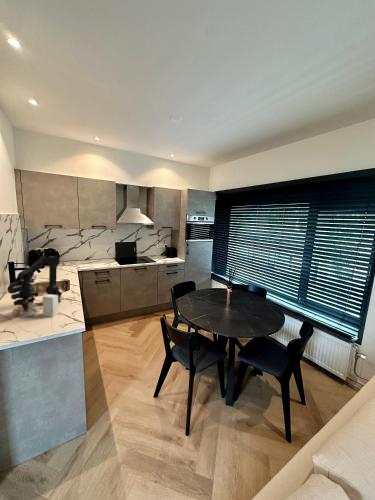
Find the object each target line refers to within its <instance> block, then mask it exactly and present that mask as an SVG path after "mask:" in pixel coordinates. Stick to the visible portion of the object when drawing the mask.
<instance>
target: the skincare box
mask: <svg viewBox="0 0 375 500" xmlns="http://www.w3.org/2000/svg"><path fill="white" fill-rule="evenodd" d="M58 314H59V303H58V295H50V294H45V295H43V296H42V316H43V317H50V318H51V317H52V318H53V317H55V316H58Z"/></svg>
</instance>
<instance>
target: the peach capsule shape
mask: <svg viewBox="0 0 375 500" xmlns="http://www.w3.org/2000/svg"><path fill="white" fill-rule="evenodd" d="M20 314H21V313H20V309H19V308H18V307H17V308H14V309H12V315H13V316H14V317H17V316H19V315H20Z"/></svg>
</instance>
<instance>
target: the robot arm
mask: <svg viewBox="0 0 375 500" xmlns="http://www.w3.org/2000/svg"><path fill="white" fill-rule="evenodd" d="M45 263H46V264H47V265H48V267H49V274H48V275H49V277H48V282H49V283H48V286H46V287H45V292H46V295H48V294H50V295H58V304H60V303H61V302H62V300H61V296H62V294H63V293H62V292H61V291H60V290H59V286H58V285H57V269H58V268H57V267H58V266H59V263H60V258H59V256H51V255H50V256H48V257H47V256H40V257H39V258H38V259H37V260H36V261H35V262H34V263H33V264H32V265H30V266H29V267H27V268H26V269H23V270H21V271H20V272H19V273H18V274H17V277H16V279H15V280H14V282H12V283H9V285H8V287H7V292H8V293H9V294H11V297H10V299H11V300H13V306H22V307H23V308H24V310H25V311H27V308H28V304H29V302H32V305H33V304H34V302H35V299H36V297H38V296H39V292H37V291H33V289H32V288H31V286H32V285H31V283H32V282H34V280H33V279H32V278H33V276H34V275H35V273H36V272H37V271H39V269H40V268H41V267H42V266H43V265H44V264H45ZM14 300H15V301H14Z"/></svg>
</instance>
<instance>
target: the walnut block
mask: <svg viewBox="0 0 375 500" xmlns="http://www.w3.org/2000/svg"><path fill="white" fill-rule="evenodd" d="M32 309H33V304H32V302H29V304H28V308H27V311H25V310H24V308H23V312H30V311H33V310H32ZM23 312H22V313H23Z"/></svg>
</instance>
